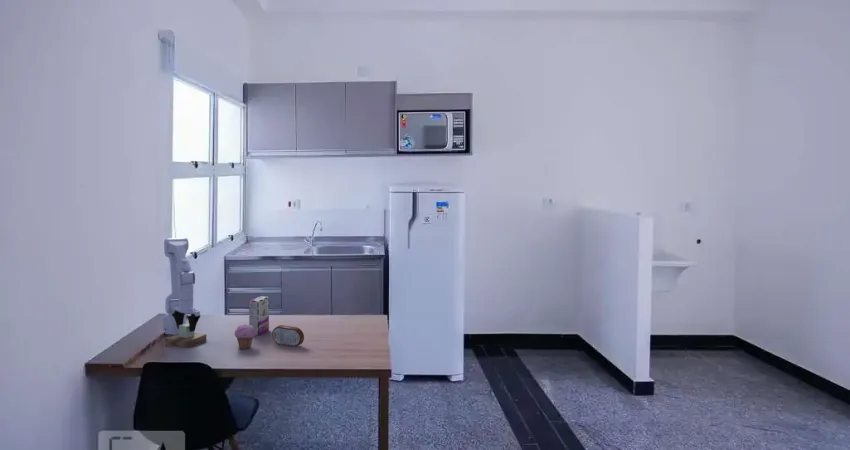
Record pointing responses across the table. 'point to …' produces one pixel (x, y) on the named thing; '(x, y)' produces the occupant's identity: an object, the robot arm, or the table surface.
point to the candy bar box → (259, 314)
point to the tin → (288, 335)
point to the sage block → (185, 331)
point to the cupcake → (245, 335)
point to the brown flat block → (185, 340)
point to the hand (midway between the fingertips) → (186, 329)
